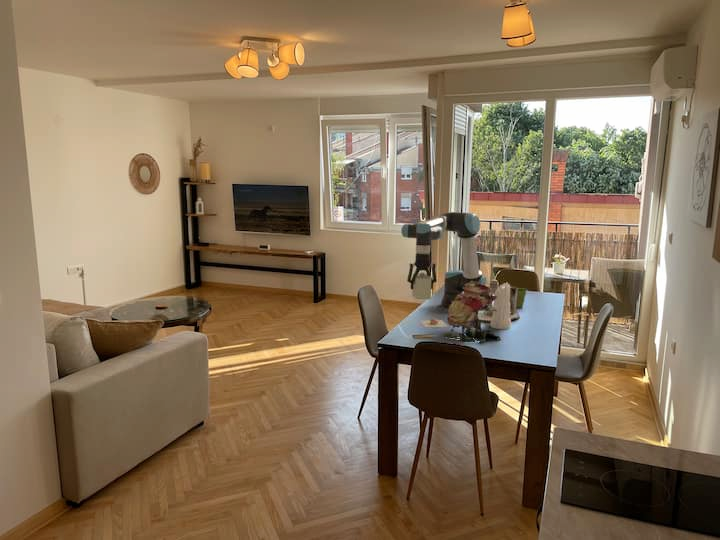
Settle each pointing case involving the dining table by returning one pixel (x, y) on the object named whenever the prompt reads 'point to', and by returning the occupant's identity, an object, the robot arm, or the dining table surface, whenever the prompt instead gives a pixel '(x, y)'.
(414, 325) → the dining table surface
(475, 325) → the rose bouquet
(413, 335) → the tan mat
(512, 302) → the coffee box
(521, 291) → the plant pot
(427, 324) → the cream plate
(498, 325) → the decorative vase
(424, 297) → the sage cover
